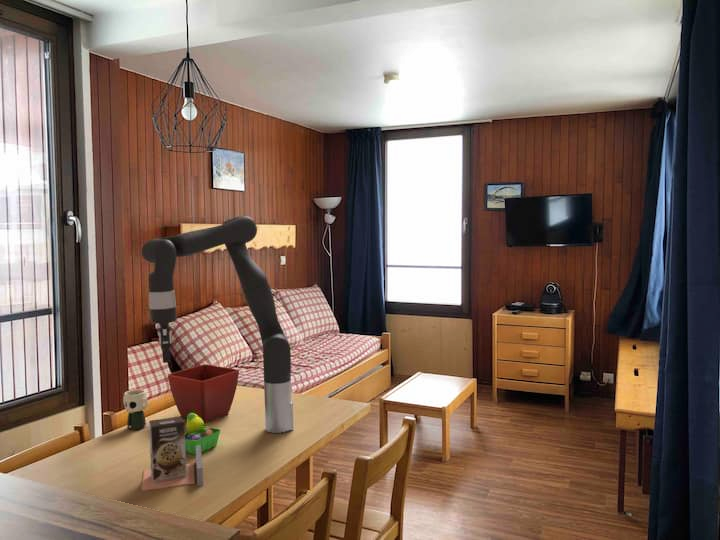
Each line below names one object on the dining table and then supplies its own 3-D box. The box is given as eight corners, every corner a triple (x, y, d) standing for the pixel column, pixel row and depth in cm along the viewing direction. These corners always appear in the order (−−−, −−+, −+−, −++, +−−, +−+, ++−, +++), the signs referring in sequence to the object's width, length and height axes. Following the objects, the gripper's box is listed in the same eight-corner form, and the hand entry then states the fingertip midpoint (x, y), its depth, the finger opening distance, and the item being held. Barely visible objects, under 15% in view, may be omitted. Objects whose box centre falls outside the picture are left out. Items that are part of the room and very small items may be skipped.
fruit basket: (195, 457, 184) (194, 421, 183) (176, 451, 189) (174, 417, 188) (222, 445, 194) (221, 411, 193) (203, 440, 198) (201, 407, 197)
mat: (193, 464, 178) (193, 463, 178) (194, 483, 165) (194, 482, 165) (144, 470, 174) (144, 469, 174) (141, 491, 161) (140, 489, 161)
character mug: (117, 429, 211) (115, 393, 210) (132, 422, 218) (130, 388, 217) (141, 433, 207) (139, 396, 206) (155, 426, 213) (153, 390, 212)
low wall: (201, 460, 181) (200, 444, 180) (203, 485, 164) (202, 467, 163) (196, 461, 180) (195, 445, 180) (197, 486, 163) (196, 468, 163)
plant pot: (242, 412, 226) (240, 369, 225) (204, 427, 210) (202, 381, 209) (206, 405, 237) (205, 363, 235) (168, 419, 221) (165, 374, 219)
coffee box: (153, 483, 164) (150, 426, 163) (150, 475, 170) (148, 420, 169) (187, 477, 168) (184, 421, 167) (183, 468, 174) (181, 415, 173)
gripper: (176, 308, 172) (180, 363, 174) (175, 302, 186) (178, 353, 187) (149, 310, 170) (153, 366, 171) (149, 304, 183) (153, 356, 185)
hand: (166, 359), depth 179 cm, fingers open, 8 cm apart
